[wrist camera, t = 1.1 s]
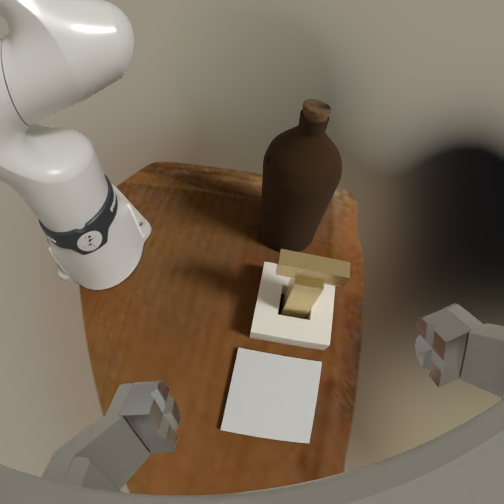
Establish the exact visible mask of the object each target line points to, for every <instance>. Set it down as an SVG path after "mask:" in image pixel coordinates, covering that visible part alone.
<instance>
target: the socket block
mask: <svg viewBox="0 0 504 504" xmlns="http://www.w3.org/2000/svg"><path fill="white" fill-rule="evenodd" d="M276 269H277V264H275V263H269V262H264V267H263V272H262V277H261V282H260V287H259V292H258V297H257V302H256V307H255V312H254V317H253V322H252V327H251V332H250V338H255V339H260V340H265V341H271V342H276V343H282V344H287V345H293V346H299V347H306V348H312V349H319V350H325V349H326V348H327V347H328V346H330V338H331V328H332V318H333V306H334V294H335V286H333V285H328V284H324V289H323V291H322V293H321V294H320V296H319V297H318V299H317V300H316V302H315V303H314V305H313V306H312V308H311V309H310V311H309V312H308V314H307V319H301V318H295V317H289V316H284V315H278V310H279V304H280V298H281V293H282V294H285V291H286V289H287V286H288V283H289V281H290V278H291V277H286V276H280V275H276Z"/></svg>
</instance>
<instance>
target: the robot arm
mask: <svg viewBox="0 0 504 504" xmlns="http://www.w3.org/2000/svg"><path fill="white" fill-rule="evenodd" d="M0 16H2V17H4V19H5V20H6V21H7V24H8V26H9V30H10V33H9V34H8V35H6V36H5V37H4V38H3V39H1V40H0V180H2V181H3V182H5V183H6V184H8V185H10V186H11V187H12V188H13V189H15V190H16V191H17V192H18V193H19V194H20V196H21V197H22V198H23V199H24V200H25V201H26V203H27V204H28V205H29V206H30V208H31V209H32V210H33V212H34V213H35V214H36V216H37V217H38V218H39V223H40V225H41V227H42V229H43V231H44V233H45V234H46V236H47V237H48V239H47V240H48V243H49V248H48V249H49V251H50V253H51V255H52V256H53V257H54V259H55V260H56V262H57V271H58V276H59V277H60V279H62V280H64V281H74V282H76V283H78V284H79V285H81V286H83V287H85V288H88V289H93V290H101V289H107V288H110V287H113V286H115V285H117V284H119V283H120V282H122V281H123V280H124V279H126V278H127V277H128V276H129V275H130V274H131V273H132V272H133V270H134V269H135V268H136V266H137V264H138V262H139V260H140V258H141V254H142V250H143V245H144V242H145V241H146V239H147V238H148V236H149V235H150V233H151V230H152V228H151V226H150V224H149V223H148V222H147V221H146V219H145V218H144V217H143V216H142V215H141V214H140V213H139V212H138V211H137V210H136V209H135V207H134V206H133V205H132V204H131V203H130V202H129V201H128V200H127V199H126V198H125V196H124V195H123V194H122V193H121V192H120V191H119V190H118V189H117V187H116V186H114V185H112V184H111V182H110V181H109V179H108V177H107V176H105V174H104V173H103V171H102V168H101V166H100V163H99V161H98V158H97V155H96V153H95V150H94V147H93V145H92V143H91V141H90V140H89V139H88V138H87V137H86V136H84V135H83V134H81V133H80V132H78V131H76V130H73V129H69V128H49V127H43V126H40V125H38V124H36V123H37V122H39V121H41V120H43V119H45V118H47V117H49V116H51V115H53V114H55V113H57V112H59V111H61V110H63V109H65V108H68V107H70V106H72V105H74V104H76V103H79V102H81V101H83V100H86V99H87V98H89V97H91V96H92V95H94V94H96V93H97V92H99V91H101V90H102V89H104V88H106V87H107V86H109V85H111V84H112V83H114V82H116V81H117V80H119V79H121V78H122V77H123V75H124V74H125V72H126V71H127V69H128V67H129V65H130V62H131V59H132V56H133V51H134V33H133V29H132V26H131V24H130V21H129V19H128V18H127V16H126V15H125V14H124V13H123V12H122V11H121V10H120V9H119V8H118V7H117V6H115V5H113V4H111V3H109V2H106V1H103V0H0ZM140 224H142V225H141V226H139V225H140ZM416 331H417V332H418V333H419V334H420V335H419V336H418V338H417V340H416V341H415V350H416V355H417V358H418V360H419V362H420V364H421V365H422V367H424V368H427V369H430V373H429V376H430V377H431V378H432V380H433V381H434V382H435V383H436V385H437V386H438V387H441V386H443V385H446V384H448V383H450V382H452V381H454V380H456V379H459V378H460V379H461V380H463V381H465V382H468V383H470V384H472V385H474V386H477V387H479V388H481V389H483V390H486V391H488V392H490V393H493V394H495V395H497V396H500V397H502V399H501V401H500V402H498V403H497V404H495V405H494V406H492V407H490V408H489V409H487V410H486V411H484V412H482V413H481V414H479V415H477V416H475V417H474V418H472V419H470V420H469V421H467V422H465V423H463V424H462V425H459V426H458V427H456V428H454V429H452V430H450V431H448V432H446V433H444V434H442V435H440V436H438V437H436V438H434V439H432V440H430V441H428V442H425V443H423V444H421V445H419V446H416V447H414V448H412V449H409V450H407V451H405V452H402V453H400V454H397V455H395V456H392V457H389V458H387V459H384V460H381V461H379V462H376V463H373V464H370V465H367V466H364V467H361V468H358V469H354V470H351V471H348V472H344V473H341V474H337V475H333V476H330V477H326V478H322V479H317V480H313V481H309V482H304V483H299V484H294V485H289V486H283V487H278V488H271V489H265V490H257V491H249V492H240V493H229V494H215V495H147V494H133V493H123V492H122V491H121V490H120V489H121V488H122V487H123V486H124V485H125V484H126V482H127V481H128V480H129V479H130V478H131V477H132V475H133V474H134V473H135V472H136V471H137V470H138V468H139V467H140V466H141V465H142V464H143V463H144V461H145V460H146V459H147V458H148V457H149V455H150V453H159V452H174V451H175V445H176V440H177V435H176V433H175V432H174V431H175V430H176V429H177V428H178V427H179V424H180V411H179V408H178V405H177V403H176V401H175V399H173V398H172V397H170V396H168V393H169V388H168V386H167V385H166V383H165V382H164V381H151V382H138V383H127V384H121V385H120V386H119V387H118V389H117V392H116V394H115V396H114V398H113V400H112V402H111V405H110V407H109V409H108V411H107V413H106V416H101V417H100V418H99V419H97V420H96V421H95V422H94V423H92V424H91V425H90V426H88V427H87V428H86V429H84V430H83V431H82V432H80V433H79V434H78V435H76V436H75V437H74V438H72V439H71V440H70V441H68V442H67V443H66V444H64V445H63V446H61V447H60V448H59V449H57V450H56V451H55V452H54V453H53V455H52V457H51V459H50V461H49V463H48V465H47V467H46V469H45V471H44V474H43V475H42V478H41V477H38V476H34V475H31V474H27V473H24V472H21V471H18V470H15V469H12V468H8V467H6V466H3V465H0V504H504V326H499V325H493V324H488V323H487V324H485V325H484V324H482V323H481V322H480V321H479V320H477V319H476V318H475V317H474V316H472V315H471V314H470V313H468V312H467V311H466V310H465V309H463V308H462V307H461V306H460V305H458V304H453V305H450V306H449V307H446V308H444V309H442V310H440V311H437V312H435V313H432V314H430V315H427V316H425V317H422V318H420V319H418V321H417V324H416Z"/></svg>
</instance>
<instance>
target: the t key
mask: <svg viewBox="0 0 504 504" xmlns="http://www.w3.org/2000/svg"><path fill="white" fill-rule="evenodd" d="M276 275H280V276H286V277H291V278H290V281H289V283H288V286H287V289H286V291H285V294H284V296H283V301H282V307H281V313H280V315H284V316H289V317H295V318H301V319H304V318H305V317H306V316H307V314H308V312H309V311H310V309H311V308H312V306H313V305H314V303H315V302H316V300H317V299H318V297H319V296H320V294H321V293H322V291H323V289H324V284H328V285H333V286H339V287H343V286H344V285H345V284H346V282H347V281H348V280H349V278H350V262H346V261H341V260H336V259H331V258H326V257H321V256H316V255H310V254H305V253H300V252H295V251H290V250H285V249H281V251H280V254H279V258H278V263H277V269H276Z"/></svg>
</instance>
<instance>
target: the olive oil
mask: <svg viewBox="0 0 504 504" xmlns="http://www.w3.org/2000/svg"><path fill="white" fill-rule="evenodd" d="M329 114H330V106H329V105H328V104H326V103H325V102H323V101H320V100H316V99H309V100H306V101H305V102H304V103H303V110H302V111H301V113H300V119H299V125H298V126H296V127H294V128H292V129H289V130H287V131H285V132H283V133H281V134H280V135H278V136H277V137H276V138H275V139H274V140H273V141H272V142H271V144H270V145H269V147H268V149H267V151H266V153H265V156H264V161H263V181H262V201H261V215H260V234H261V237H262V239H263V240H264V241H265V243H266V244H267V245H268V246H270V247H271V248H273V249H275V250H277V251H281V249H285V250H290V251H295V252H299V251H301V250H303V249H305V248H306V247H307V246H308V245H309V244H310V243H311V241H312V239H313V237H314V234H315V232H316V230H317V228H318V226H319V223H320V221H321V219H322V217H323V215H324V213H325V211H326V209H327V207H328V204H329V202H330V200H331V198H332V196H333V194H334V192H335V190H336V188H337V186H338V184H339V181H340V178H341V173H342V162H341V156H340V153H339V151H338V149H337V147H336V146H335V144H334V143H333V142H332V141H331V139H330V138H329V137H328V136H327V134H326V133H325V130H326V128H327V124H328V121H329V116H328V115H329Z"/></svg>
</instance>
